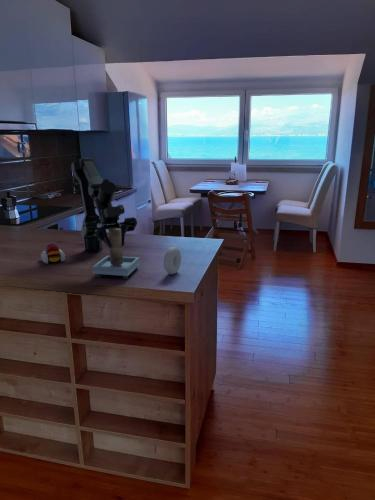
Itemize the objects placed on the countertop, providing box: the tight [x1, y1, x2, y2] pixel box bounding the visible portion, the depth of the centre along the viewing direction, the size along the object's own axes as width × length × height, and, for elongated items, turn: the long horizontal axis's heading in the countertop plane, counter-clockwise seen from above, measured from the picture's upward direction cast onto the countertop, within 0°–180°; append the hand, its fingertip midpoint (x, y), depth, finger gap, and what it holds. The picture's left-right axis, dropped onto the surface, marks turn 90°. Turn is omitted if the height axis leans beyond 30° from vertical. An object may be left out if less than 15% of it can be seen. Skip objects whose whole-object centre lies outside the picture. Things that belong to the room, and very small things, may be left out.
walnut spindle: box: [108, 228, 124, 265], centre depth 138 cm, size 4×4×12 cm
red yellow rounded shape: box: [40, 242, 66, 264], centre depth 154 cm, size 8×10×7 cm
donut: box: [163, 246, 182, 275], centre depth 138 cm, size 10×4×10 cm, turn 156°
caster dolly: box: [91, 255, 141, 280], centre depth 140 cm, size 13×13×4 cm
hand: (117, 246), depth 136 cm, fingers closed on walnut spindle, 4 cm apart
